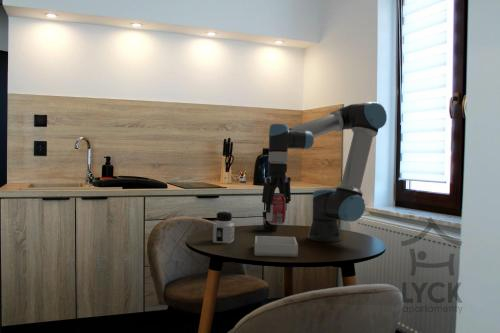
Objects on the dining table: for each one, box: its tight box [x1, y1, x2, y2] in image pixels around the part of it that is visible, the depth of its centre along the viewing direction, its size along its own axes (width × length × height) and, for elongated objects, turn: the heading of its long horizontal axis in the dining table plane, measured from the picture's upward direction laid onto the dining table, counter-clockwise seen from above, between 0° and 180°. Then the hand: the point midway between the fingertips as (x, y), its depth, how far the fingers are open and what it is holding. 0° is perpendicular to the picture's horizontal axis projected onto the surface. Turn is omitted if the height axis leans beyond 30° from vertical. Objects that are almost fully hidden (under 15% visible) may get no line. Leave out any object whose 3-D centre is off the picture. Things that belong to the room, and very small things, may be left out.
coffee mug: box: [261, 209, 279, 233], centre depth 233 cm, size 12×9×10 cm
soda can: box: [268, 192, 285, 226], centre depth 183 cm, size 7×7×12 cm
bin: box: [254, 235, 299, 258], centre depth 184 cm, size 17×17×4 cm
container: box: [212, 211, 235, 244], centre depth 201 cm, size 8×8×13 cm
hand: (276, 219), depth 183 cm, fingers closed on soda can, 7 cm apart
